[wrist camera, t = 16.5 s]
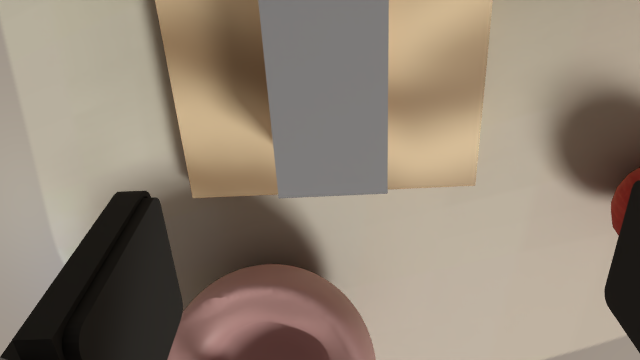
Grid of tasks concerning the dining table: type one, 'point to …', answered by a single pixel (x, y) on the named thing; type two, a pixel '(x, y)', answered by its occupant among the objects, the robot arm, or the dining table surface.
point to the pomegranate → (622, 199)
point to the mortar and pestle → (271, 319)
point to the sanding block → (327, 95)
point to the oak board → (253, 105)
